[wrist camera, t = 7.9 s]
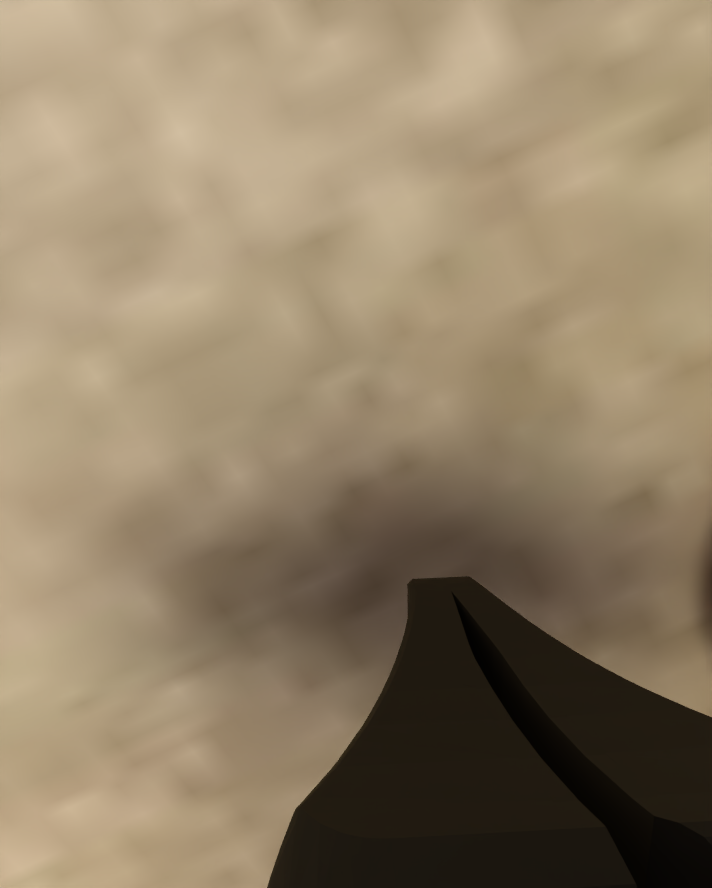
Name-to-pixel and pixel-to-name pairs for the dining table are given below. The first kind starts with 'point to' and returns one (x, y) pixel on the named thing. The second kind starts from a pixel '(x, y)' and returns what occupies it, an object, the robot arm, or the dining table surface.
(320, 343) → the dining table surface
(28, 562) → the dining table surface
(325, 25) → the dining table surface
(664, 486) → the dining table surface
